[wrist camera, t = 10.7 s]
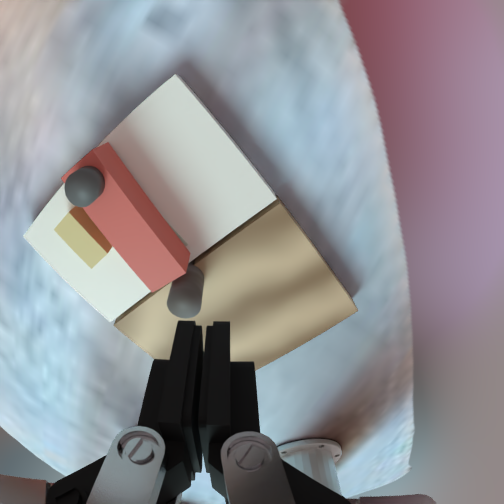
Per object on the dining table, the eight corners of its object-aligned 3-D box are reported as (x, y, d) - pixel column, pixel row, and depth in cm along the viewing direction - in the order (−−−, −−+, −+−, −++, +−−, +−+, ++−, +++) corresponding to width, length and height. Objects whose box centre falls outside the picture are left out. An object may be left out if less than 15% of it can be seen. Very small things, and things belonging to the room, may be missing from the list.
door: (273, 191, 24) (282, 212, 20) (115, 310, 28) (102, 341, 24) (179, 75, 20) (167, 71, 16) (33, 227, 24) (7, 250, 20)
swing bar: (190, 253, 24) (183, 284, 20) (159, 272, 24) (148, 304, 21) (108, 141, 19) (82, 154, 16) (78, 167, 20) (50, 184, 16)
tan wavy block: (352, 299, 29) (371, 336, 25) (205, 383, 34) (203, 422, 29) (272, 189, 24) (282, 215, 19) (113, 309, 28) (97, 347, 24)
